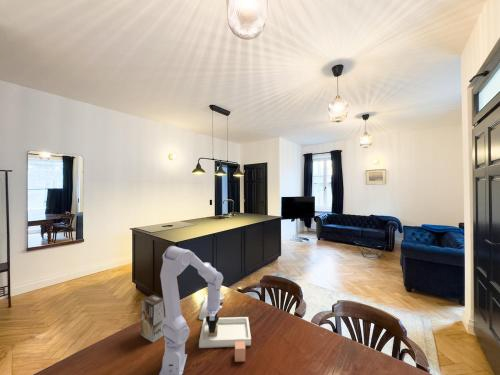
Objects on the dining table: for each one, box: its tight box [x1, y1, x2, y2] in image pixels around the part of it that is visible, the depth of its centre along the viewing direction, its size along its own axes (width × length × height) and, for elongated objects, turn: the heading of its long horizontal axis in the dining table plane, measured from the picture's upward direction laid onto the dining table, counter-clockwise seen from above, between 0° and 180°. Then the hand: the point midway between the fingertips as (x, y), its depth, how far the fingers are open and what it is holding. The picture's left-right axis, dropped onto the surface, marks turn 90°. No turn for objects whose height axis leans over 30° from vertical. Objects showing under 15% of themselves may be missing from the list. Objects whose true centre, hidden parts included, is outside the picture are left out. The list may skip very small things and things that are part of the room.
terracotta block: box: [234, 341, 246, 363], centre depth 86 cm, size 4×4×5 cm
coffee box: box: [140, 294, 166, 343], centre depth 97 cm, size 9×6×16 cm
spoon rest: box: [198, 292, 225, 321], centre depth 121 cm, size 24×12×7 cm, turn 171°
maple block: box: [208, 322, 218, 337], centre depth 99 cm, size 4×4×5 cm
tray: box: [198, 316, 252, 349], centre depth 99 cm, size 16×22×3 cm
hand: (212, 326), depth 99 cm, fingers open, 7 cm apart
